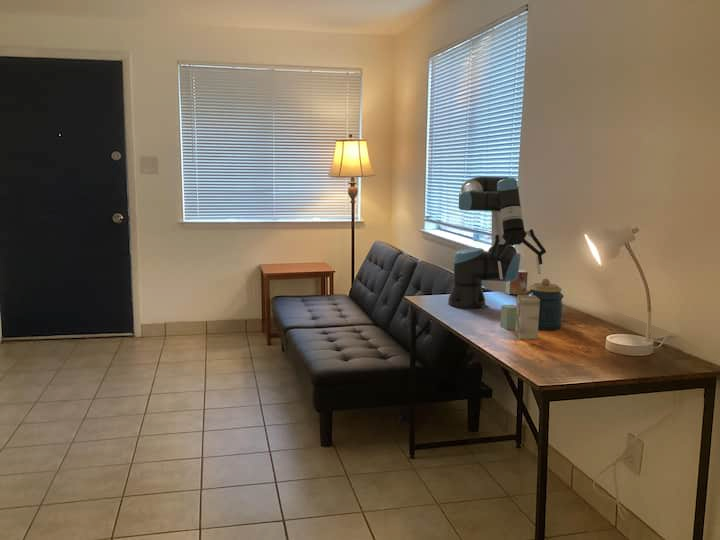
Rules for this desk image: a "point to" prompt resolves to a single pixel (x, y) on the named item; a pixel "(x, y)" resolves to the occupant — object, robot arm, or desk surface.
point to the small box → (518, 284)
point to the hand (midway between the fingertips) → (520, 276)
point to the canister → (548, 304)
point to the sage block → (508, 316)
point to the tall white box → (527, 317)
